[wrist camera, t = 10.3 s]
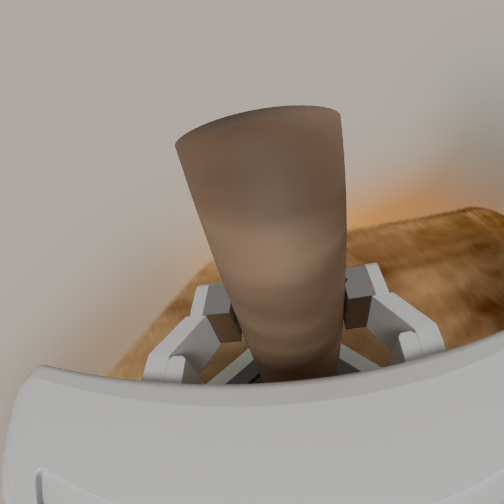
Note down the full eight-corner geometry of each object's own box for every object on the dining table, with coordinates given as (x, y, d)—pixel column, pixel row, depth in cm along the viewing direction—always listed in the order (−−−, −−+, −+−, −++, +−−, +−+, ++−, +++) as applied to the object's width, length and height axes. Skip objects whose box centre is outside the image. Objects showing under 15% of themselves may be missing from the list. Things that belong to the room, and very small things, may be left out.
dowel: (294, 435, 14) (210, 166, 4) (261, 390, 17) (160, 140, 7) (346, 398, 15) (375, 115, 5) (310, 359, 18) (277, 103, 8)
